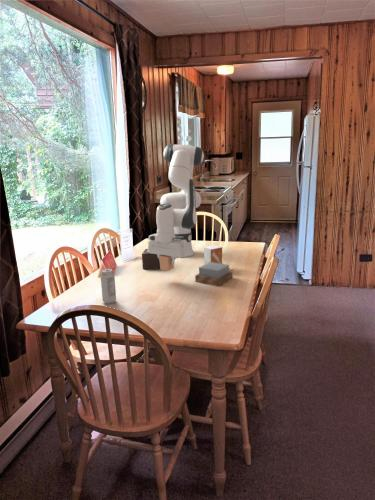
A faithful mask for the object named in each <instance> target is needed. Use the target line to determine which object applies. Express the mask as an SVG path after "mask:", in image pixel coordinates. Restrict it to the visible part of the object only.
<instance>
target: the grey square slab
mask: <svg viewBox="0 0 375 500" xmlns="http://www.w3.org/2000/svg"><path fill="white" fill-rule="evenodd" d="M229 265H230V264H224V263H222V264H220V263H213V262H209V263H207V264H205V265H204V264H203V265H201V266H199V269H198V272H199V273H198V274H199V275H201V276H207V277H212V278H217V279H219V278H220V277H222V276H224V275H225V274H227V273H229V269H230V266H229Z"/></svg>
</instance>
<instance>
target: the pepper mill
mask: <svg viewBox="0 0 375 500" xmlns="http://www.w3.org/2000/svg"><path fill="white" fill-rule="evenodd" d="M141 261H142V262H141V264H142V270H161V269H160V261H159V258H158V256H157V254H152V253H150V252H149V250H148V248H145V249H144V250H143V252H142V253H141Z"/></svg>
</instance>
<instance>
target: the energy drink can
mask: <svg viewBox="0 0 375 500" xmlns="http://www.w3.org/2000/svg"><path fill="white" fill-rule="evenodd" d="M114 272H115V271H114V270H113V269H112V268H104V269H102V270H101V272H100V286H101V296H102V302H103V303H104V302H105V303H112V304H114V303H116V301H117V294H116V293H117V292H116V291H117V289H116V279H115V273H114ZM105 303H104V304H105Z"/></svg>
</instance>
